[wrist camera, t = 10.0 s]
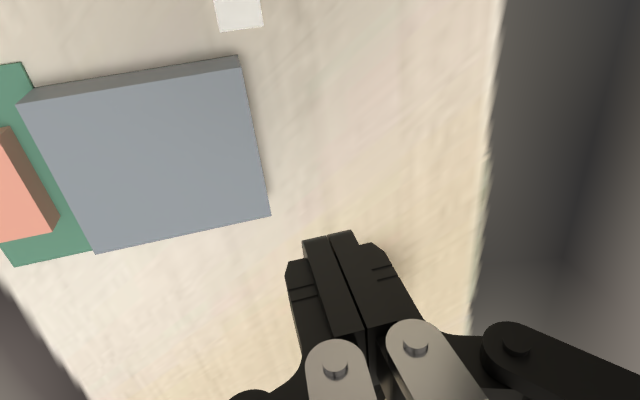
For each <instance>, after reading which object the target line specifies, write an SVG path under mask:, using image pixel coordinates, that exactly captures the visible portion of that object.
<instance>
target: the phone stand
mask: <svg viewBox="0 0 640 400" xmlns="http://www.w3.org/2000/svg"><path fill="white" fill-rule="evenodd" d="M213 3H214V8H215V13H216V18H217V22H218V27H219V32H228V31H235V30H242V29H249V28H256V27H263V26H264V24H263V17H262V11H261V4H260V0H213Z"/></svg>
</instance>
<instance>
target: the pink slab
mask: <svg viewBox="0 0 640 400" xmlns="http://www.w3.org/2000/svg"><path fill="white" fill-rule="evenodd" d="M60 217H61V216H60V214H59V212H58V210H57V209H56V207H55V205H54V203H53V202H52V200H51V198H50V196H49V194H48V193H47V191H46V189H45V187H44V186H43V184H42V182H41V180H40V178H39V177H38V175H37V173H36V171H35V170H34V168H33V166H32V164H31V162H30V161H29V159H28V157H27V155H26V153H25V152H24V150H23V148H22V146H21V145H20V143H19V141H18V139H17V137H16V136H15V134H14V132H13V130H12V129H11V127H10V126H6V127H0V243H3V242H8V241H12V240H17V239H22V238H27V237H31V236H36V235H41V234H46V233H50V232H53V230H54V228H55V226H56V224H57V222H58V220H59V218H60Z"/></svg>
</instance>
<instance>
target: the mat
mask: <svg viewBox="0 0 640 400" xmlns="http://www.w3.org/2000/svg"><path fill="white" fill-rule="evenodd" d="M33 88H34V87H33V85H32V83H31V81H30V79H29V77H28V75H27V73H26V71H25V69H24V67H23V65H22V63H21V62H17V63H11V64H4V65H0V127H6V126H10V127H11V129H12V130H13V132H14V134H15V136H16V137H17V139H18V141H19V143H20V145H21V146H22V148H23V150H24V152H25V153H26V155H27V157H28V159H29V161H30V162H31V164H32V166H33V168H34V170H35V171H36V173H37V175H38V177H39V178H40V180H41V182H42V184H43V186H44V187H45V189H46V191H47V193H48V194H49V196H50V198H51V200H52V202H53V203H54V205H55V207H56V209H57V210H58V212H59V214H60V216H61V217H60V218H59V220H58V222H57V224H56V226H55V228H54V230H53V232H50V233H46V234H41V235H36V236H31V237H27V238H22V239H17V240H12V241H8V242H3V243H0V248H1V249H2V251H3V252H4V254H5V255H6V256H7V258H8V259H9V261H10V262H11V264H12V265H13V266H14V267H19V266H23V265H28V264H32V263H37V262H42V261H46V260H51V259H55V258H60V257H65V256H69V255H74V254H78V253H83V252H87V251H92V248H91V246H90V244H89V242H88V240H87V238H86V237H85V235H84V233H83V231H82V229H81V227H80V225H79V224H78V222H77V220H76V218H75V216H74V214H73V212H72V211H71V209H70V207H69V205H68V203H67V201H66V199H65V198H64V196H63V194H62V192H61V190H60V188H59V186H58V185H57V183H56V181H55V179H54V177H53V175H52V173H51V172H50V170H49V168H48V166H47V164H46V162H45V160H44V158H43V157H42V155H41V153H40V151H39V149H38V147H37V145H36V144H35V142H34V140H33V138H32V136H31V134H30V132H29V131H28V129H27V127H26V125H25V123H24V121H23V119H22V118H21V116H20V114H19V112H18V110H17V108H16V106H15V104H16V103H17V102H18V101H20V100H21V99H22V98H23V97H24V96H25V95H26V94H27V93H29V92H30V91H31V90H32V89H33Z"/></svg>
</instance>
